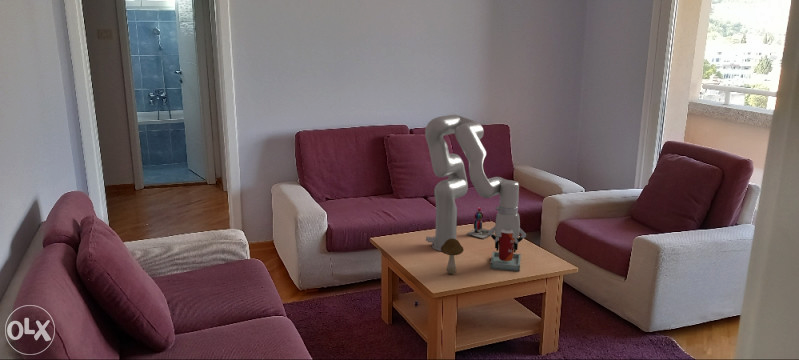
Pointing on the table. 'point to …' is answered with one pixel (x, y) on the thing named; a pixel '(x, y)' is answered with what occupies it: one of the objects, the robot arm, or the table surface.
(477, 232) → the statue
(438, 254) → the table surface
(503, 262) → the tray
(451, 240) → the mushroom
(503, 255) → the paper cup
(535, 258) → the table surface
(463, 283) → the table surface
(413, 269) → the table surface
